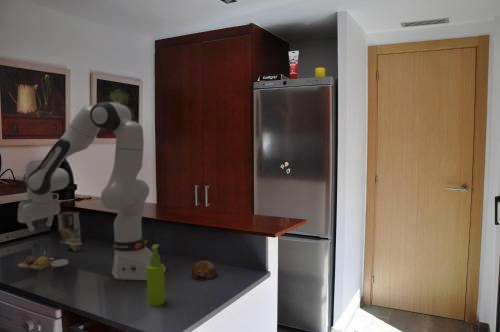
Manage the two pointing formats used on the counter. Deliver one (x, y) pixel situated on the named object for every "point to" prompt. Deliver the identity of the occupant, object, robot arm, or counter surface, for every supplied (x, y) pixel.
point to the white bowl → (59, 263)
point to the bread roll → (203, 270)
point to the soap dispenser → (155, 279)
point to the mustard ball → (42, 261)
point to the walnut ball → (29, 260)
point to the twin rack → (34, 265)
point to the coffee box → (69, 226)
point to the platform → (74, 244)
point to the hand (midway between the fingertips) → (40, 228)
